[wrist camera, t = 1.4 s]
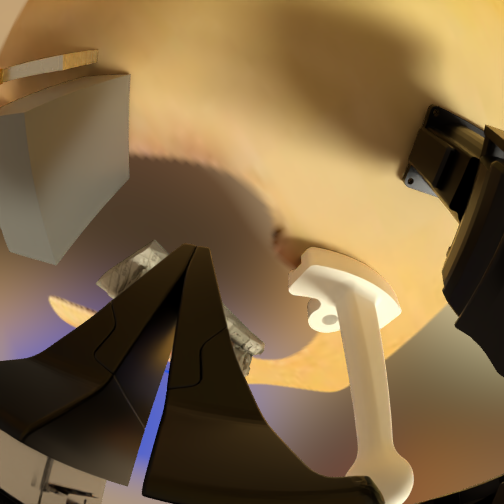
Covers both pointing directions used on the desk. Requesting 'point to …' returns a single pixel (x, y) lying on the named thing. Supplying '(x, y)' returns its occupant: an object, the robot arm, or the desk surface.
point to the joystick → (358, 355)
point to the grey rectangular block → (61, 162)
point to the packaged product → (147, 259)
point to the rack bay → (48, 65)
